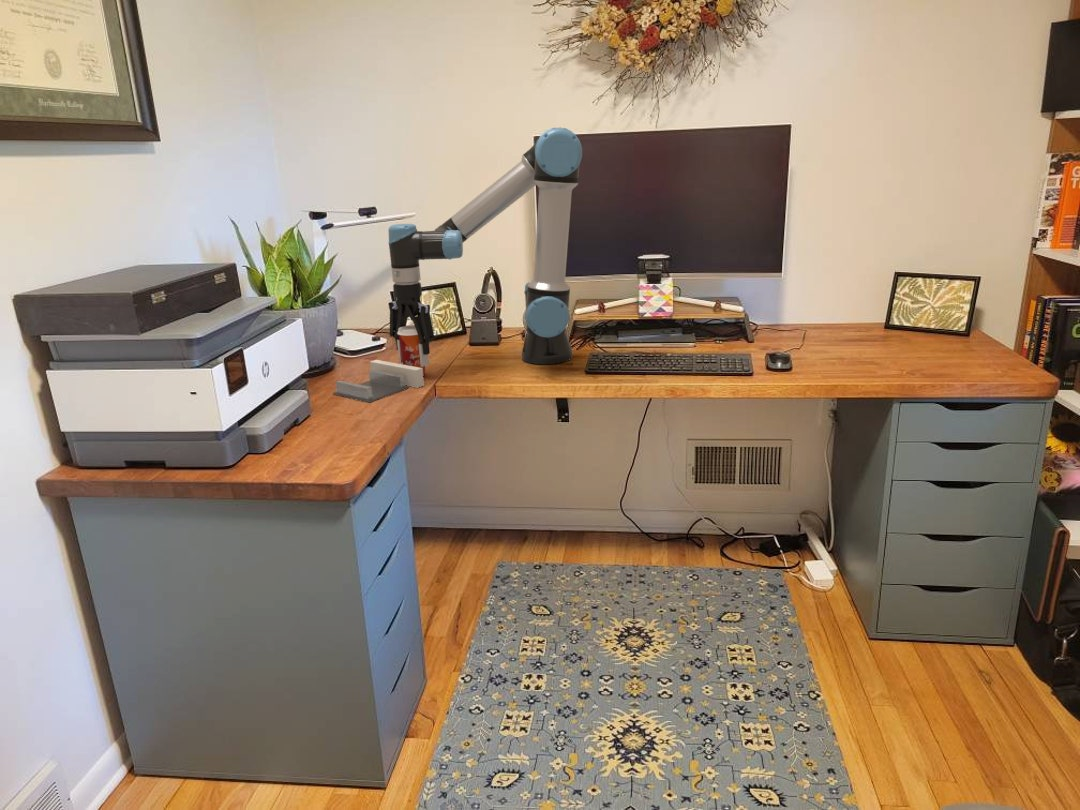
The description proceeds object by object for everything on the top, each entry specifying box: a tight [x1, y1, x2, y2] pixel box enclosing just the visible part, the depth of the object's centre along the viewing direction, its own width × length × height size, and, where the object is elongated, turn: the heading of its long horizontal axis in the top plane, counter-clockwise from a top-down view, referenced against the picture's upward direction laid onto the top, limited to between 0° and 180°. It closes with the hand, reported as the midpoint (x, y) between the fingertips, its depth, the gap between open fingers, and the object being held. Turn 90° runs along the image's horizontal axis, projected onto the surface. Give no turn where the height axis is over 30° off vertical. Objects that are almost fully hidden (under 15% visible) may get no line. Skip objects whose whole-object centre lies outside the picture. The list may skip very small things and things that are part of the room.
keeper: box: [332, 369, 410, 403], centre depth 204 cm, size 14×14×4 cm
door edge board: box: [369, 359, 425, 389], centre depth 211 cm, size 18×2×5 cm, turn 54°
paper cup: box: [397, 324, 426, 377], centre depth 215 cm, size 8×8×14 cm
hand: (414, 363), depth 216 cm, fingers closed on paper cup, 8 cm apart
